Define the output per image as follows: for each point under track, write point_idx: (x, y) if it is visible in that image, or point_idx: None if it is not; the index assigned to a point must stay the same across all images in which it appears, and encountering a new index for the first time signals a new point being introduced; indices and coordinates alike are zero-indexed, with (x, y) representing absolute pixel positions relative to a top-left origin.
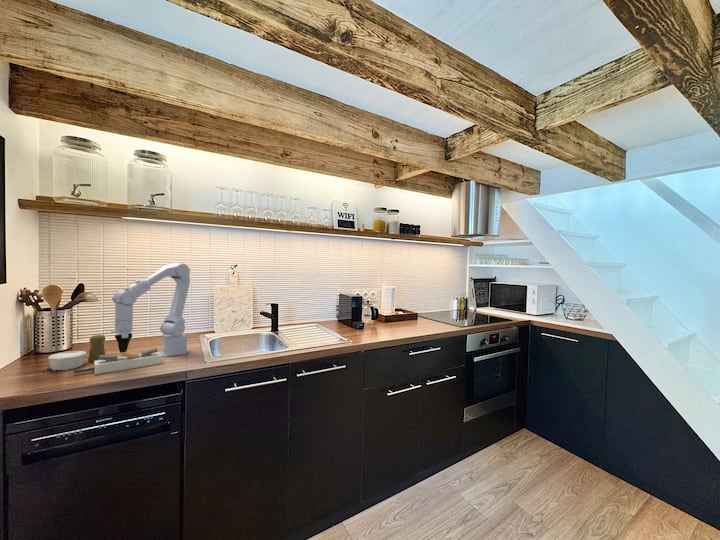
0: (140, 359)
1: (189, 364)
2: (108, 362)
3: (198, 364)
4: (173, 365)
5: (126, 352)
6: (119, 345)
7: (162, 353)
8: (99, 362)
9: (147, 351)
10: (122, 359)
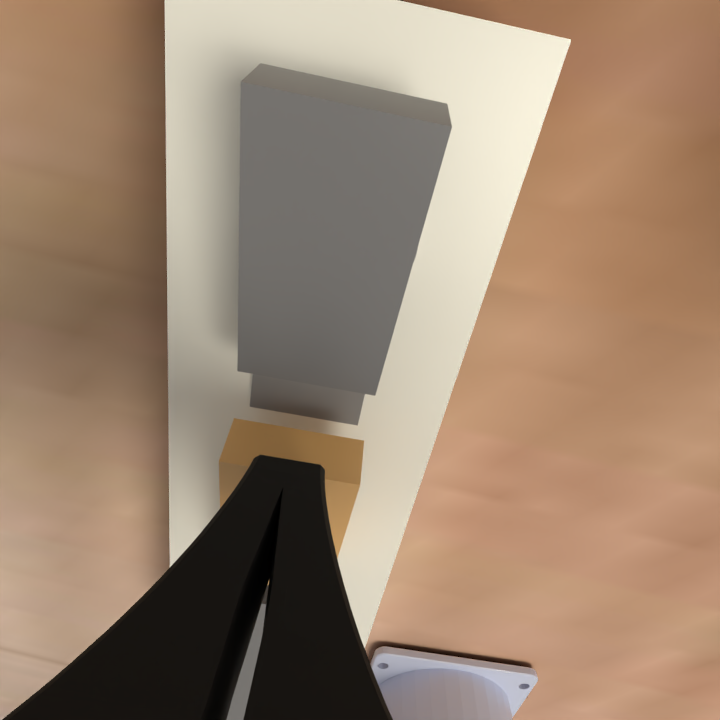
0: (175, 526)
1: (42, 669)
2: (237, 215)
3: (9, 693)
4: (80, 612)
5: (335, 518)
6: (168, 586)
7: (480, 671)
8: None
9: (251, 659)
10: (262, 399)
